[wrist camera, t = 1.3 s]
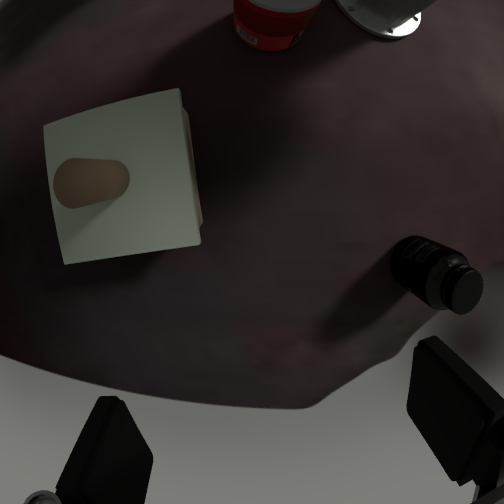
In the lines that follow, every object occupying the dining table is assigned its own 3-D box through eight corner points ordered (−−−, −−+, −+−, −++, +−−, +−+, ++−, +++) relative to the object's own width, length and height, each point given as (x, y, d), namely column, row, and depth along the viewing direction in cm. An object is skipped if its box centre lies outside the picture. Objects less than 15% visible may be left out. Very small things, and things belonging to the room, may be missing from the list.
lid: (49, 127, 23) (-4, 117, 15) (180, 91, 23) (159, 59, 16) (70, 261, 26) (23, 291, 18) (201, 241, 27) (187, 270, 19)
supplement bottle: (387, 289, 38) (437, 331, 26) (389, 236, 36) (446, 263, 24) (430, 281, 38) (484, 316, 26) (432, 232, 36) (493, 255, 25)
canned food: (302, 57, 30) (329, 15, 20) (231, 51, 30) (231, 5, 19) (302, 5, 28) (325, -44, 18) (235, -1, 28) (236, -54, 17)
